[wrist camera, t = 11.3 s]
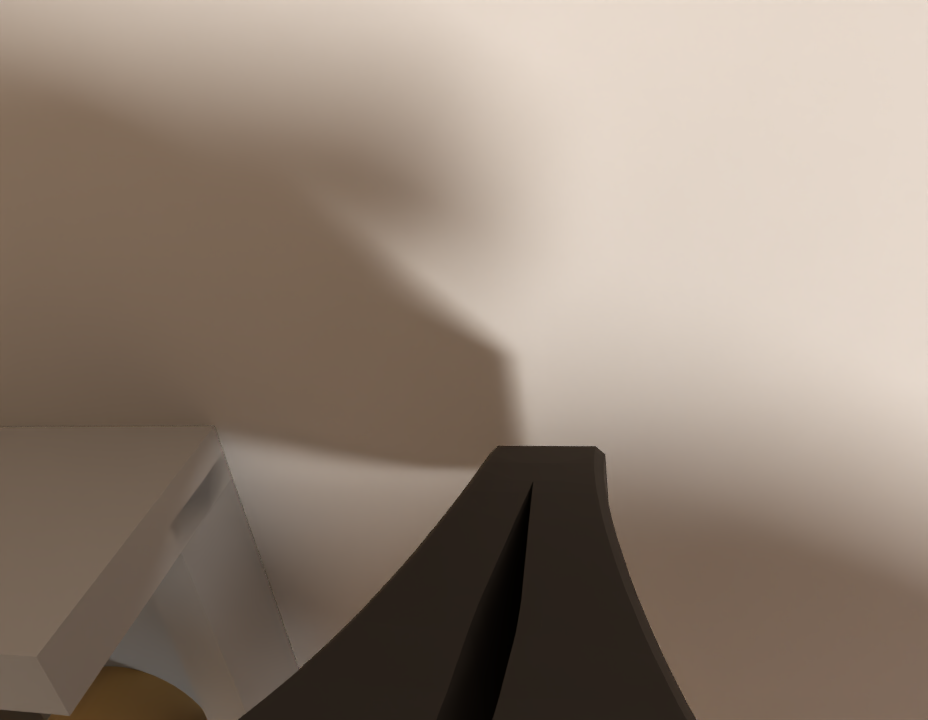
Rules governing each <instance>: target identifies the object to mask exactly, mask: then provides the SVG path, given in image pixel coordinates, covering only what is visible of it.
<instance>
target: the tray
mask: <svg viewBox="0 0 928 720" xmlns="http://www.w3.org/2000/svg"><path fill="white" fill-rule="evenodd" d="M298 670H299V668H298V665H297V662H296V659H295V656H294V653H293V650H292V648H291V645H290V642H289V639H288V636H287V633H286V630H285V627H284V625H283V622H282V619H281V616H280V613H279V610H278V607H277V604H276V602H275V599H274V596H273V593H272V590H271V587H270V584H269V581H268V579H267V576H266V573H265V570H264V567H263V564H262V561H261V558H260V556H259V553H258V550H257V547H256V544H255V541H254V538H253V535H252V533H251V530H250V527H249V524H248V521H247V518H246V515H245V512H244V510H243V507H242V504H241V501H240V498H239V495H238V492H237V489H236V487H235V484H234V481H233V478H232V475H231V472H230V469H229V466H228V464H227V461H226V458H225V455H224V452H223V449H222V446H221V443H220V441H219V438H218V435H217V432H216V429H215V426H41V427H0V720H238V719H239V718H241V717H242V716H243V715H244V714H246V713H247V712H248V711H249V710H251V709H252V708H253V707H254V706H256V705H257V704H258V703H259V702H261V701H262V700H263V699H265V698H266V697H267V696H268V695H269V694H271V693H272V692H273V691H274V690H275V689H277V688H278V687H279V686H280V685H281V684H283V683H284V682H285V681H286V680H287V679H289V678H290V677H291V676H292V675H293V674H295V673H296V672H297V671H298Z"/></svg>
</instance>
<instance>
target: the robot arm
mask: <svg viewBox="0 0 928 720" xmlns="http://www.w3.org/2000/svg"><path fill="white" fill-rule="evenodd" d="M238 720H696V719H695V717H694V715H693V713H692V711H691V710H690V708H689V706H688V704H687V702H686V700H685V698H684V696H683V694H682V692H681V690H680V689H679V687H678V685H677V683H676V681H675V679H674V677H673V675H672V673H671V671H670V669H669V667H668V665H667V663H666V661H665V658H664V656H663V654H662V652H661V650H660V648H659V646H658V643H657V641H656V639H655V637H654V635H653V632H652V630H651V628H650V625H649V623H648V621H647V618H646V616H645V613H644V611H643V609H642V606H641V604H640V602H639V599H638V597H637V594H636V591H635V589H634V586H633V583H632V581H631V578H630V576H629V573H628V569H627V566H626V563H625V560H624V557H623V554H622V551H621V548H620V545H619V542H618V539H617V536H616V533H615V529H614V525H613V522H612V518H611V513H610V509H609V503H608V488H607V474H606V459H605V454H604V453H603V452H602V451H600V450H599V449H598V448H597V447H596V446H498V447H497V448H495V449H494V450H493V451H492V452H491V453H490V454H489V456H488V457H487V459H486V460H485V461H484V463H483V464H482V466H481V467H480V468H479V470H478V471H477V473H476V474H475V475H474V477H473V478H472V479H471V481H470V482H469V484H468V485H467V486H466V488H465V489H464V490H463V492H462V493H461V494H460V496H459V497H458V498H457V499H456V501H455V502H454V503H453V505H452V506H451V507H450V509H449V510H448V511H447V512H446V514H445V515H444V516H443V518H442V519H441V520H440V521H439V522H438V524H437V525H436V526H435V527H434V529H433V530H432V531H431V532H430V533H429V535H428V536H427V537H426V538H425V540H424V541H423V542H422V543H421V544H420V546H419V547H418V548H417V549H416V550H415V552H414V553H413V554H412V555H411V556H410V558H409V559H408V560H407V561H406V562H405V563H404V565H403V566H402V567H401V568H400V569H399V570H398V571H397V572H396V573H395V574H394V575H393V577H392V578H391V579H390V580H389V581H388V582H387V583H386V584H385V585H384V586H383V587H382V589H381V590H380V591H379V592H378V593H377V594H376V595H375V596H374V597H373V598H372V599H371V600H370V602H369V603H368V604H367V605H366V606H365V607H364V608H363V609H362V610H361V611H360V612H359V613H358V614H357V615H356V616H355V617H354V618H353V619H352V620H351V621H350V622H349V623H348V624H347V625H346V626H345V627H344V628H343V629H342V630H341V631H340V632H339V633H338V634H337V635H336V636H335V637H334V638H333V639H332V640H331V641H330V642H329V643H328V644H327V645H325V646H324V647H323V648H322V649H321V650H320V651H319V652H318V653H317V654H316V655H314V656H313V657H312V658H311V659H310V660H309V661H308V662H307V663H306V664H305V665H304V666H302V667H301V668H300V669H299V670H298V671H297V672H296V673H295V674H293V675H292V676H291V677H290V678H289V679H287V680H286V681H285V682H284V683H283V684H281V685H280V686H279V687H278V688H277V689H275V690H274V691H273V692H272V693H271V694H269V695H268V696H267V697H266V698H265V699H263V700H262V701H261V702H259V703H258V704H257V705H256V706H254V707H253V708H252V709H251V710H249V711H248V712H247V713H246V714H244V715H243V716H242V717H241V718H239V719H238Z"/></svg>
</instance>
